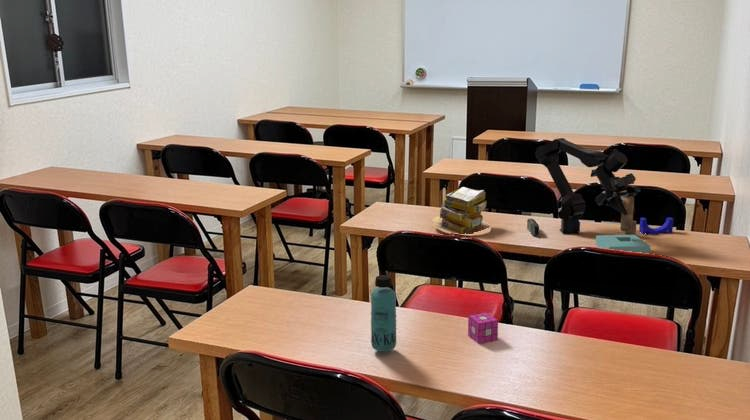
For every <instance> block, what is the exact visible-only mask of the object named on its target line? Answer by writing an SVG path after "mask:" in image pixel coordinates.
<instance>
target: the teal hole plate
mask: <svg viewBox="0 0 750 420" xmlns="http://www.w3.org/2000/svg"><path fill="white" fill-rule="evenodd" d="M595 245H596V246H597V247H598V248H599V247H601V248H606V249H614V250H623V251H632V252H642V253H650V254H651V245H650V244H648V243H647V242H646V241H644V240H643V239H642V238H640V237H639V236H638V235H637V234H636V235H625V234H609V235H608V234H606V235H605V234H604V235H595Z"/></svg>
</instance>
